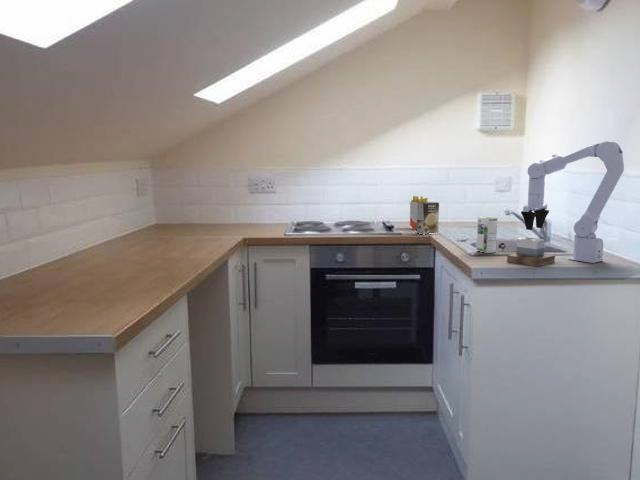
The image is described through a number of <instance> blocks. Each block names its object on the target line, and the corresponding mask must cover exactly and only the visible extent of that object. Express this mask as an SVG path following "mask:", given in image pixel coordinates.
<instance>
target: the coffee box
mask: <svg viewBox="0 0 640 480" xmlns="http://www.w3.org/2000/svg"><path fill="white" fill-rule="evenodd" d="M439 215H440V202H435V201H428V202H418V203H417V230H415V231H416V232H415V233H420V234H429V233H436V232H438V233H439ZM420 234H419V235H420Z"/></svg>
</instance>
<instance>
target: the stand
mask: <svg viewBox="0 0 640 480" xmlns="http://www.w3.org/2000/svg"><path fill="white" fill-rule="evenodd" d="M506 257H507V258H506V262H508V263H512V264H513V263H514V264H518V265H525V266H531V267H540V266H542V267H543V266H545V265H549V264H553V263H555V261H556V260H555V259H556V255H554V254H553V255H552V254H547V253H544V256H541V257H537V258H536V257H529V256H523V255H516V253H510V254H507V256H506Z"/></svg>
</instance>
